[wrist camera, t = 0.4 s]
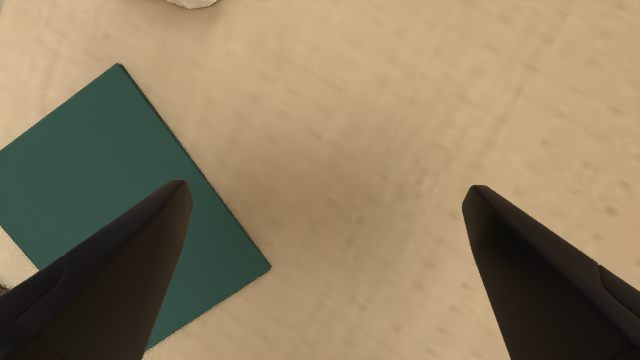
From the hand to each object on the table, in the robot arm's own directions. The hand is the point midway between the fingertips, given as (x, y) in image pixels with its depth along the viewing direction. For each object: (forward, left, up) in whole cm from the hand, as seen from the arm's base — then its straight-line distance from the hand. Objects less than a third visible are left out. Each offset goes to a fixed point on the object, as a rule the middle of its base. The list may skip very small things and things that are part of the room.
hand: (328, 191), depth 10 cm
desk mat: (+2, +17, -15) cm, 23 cm away
